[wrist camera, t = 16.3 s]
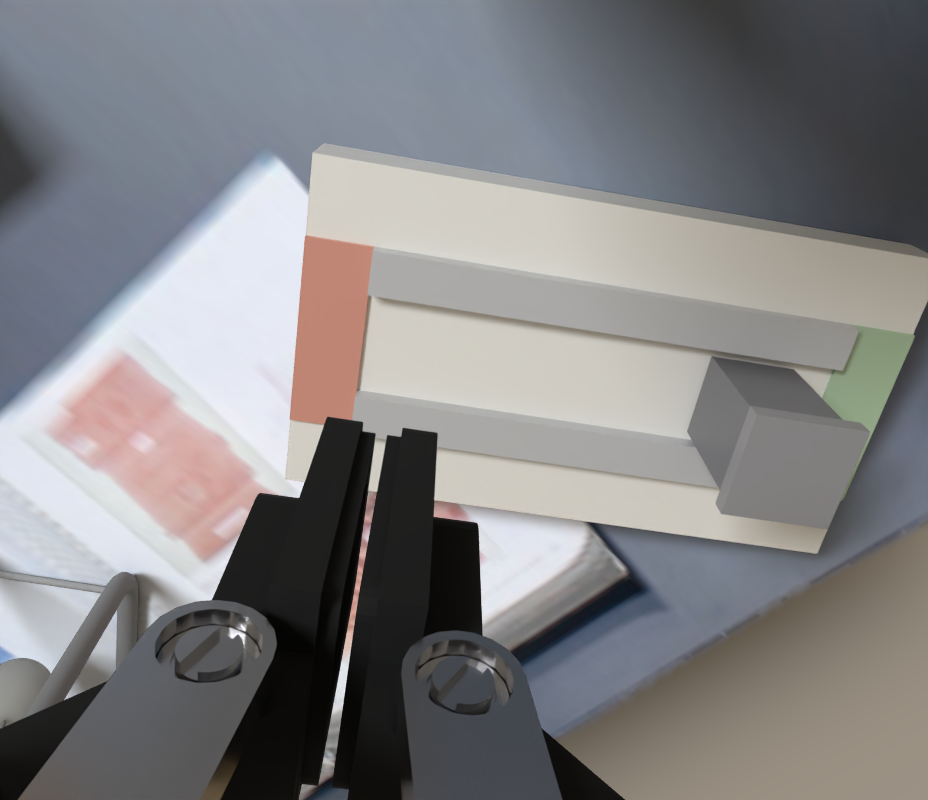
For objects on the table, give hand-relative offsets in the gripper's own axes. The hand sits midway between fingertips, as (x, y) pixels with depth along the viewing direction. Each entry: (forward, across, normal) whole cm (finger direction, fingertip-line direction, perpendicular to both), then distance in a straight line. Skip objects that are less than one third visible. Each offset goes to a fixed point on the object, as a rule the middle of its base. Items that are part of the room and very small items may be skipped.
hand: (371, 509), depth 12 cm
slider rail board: (+27, -9, +7) cm, 29 cm away
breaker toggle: (+24, -16, +7) cm, 30 cm away
